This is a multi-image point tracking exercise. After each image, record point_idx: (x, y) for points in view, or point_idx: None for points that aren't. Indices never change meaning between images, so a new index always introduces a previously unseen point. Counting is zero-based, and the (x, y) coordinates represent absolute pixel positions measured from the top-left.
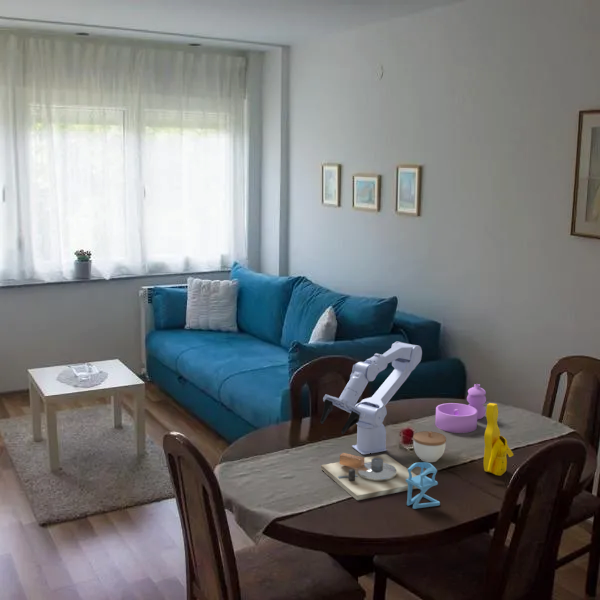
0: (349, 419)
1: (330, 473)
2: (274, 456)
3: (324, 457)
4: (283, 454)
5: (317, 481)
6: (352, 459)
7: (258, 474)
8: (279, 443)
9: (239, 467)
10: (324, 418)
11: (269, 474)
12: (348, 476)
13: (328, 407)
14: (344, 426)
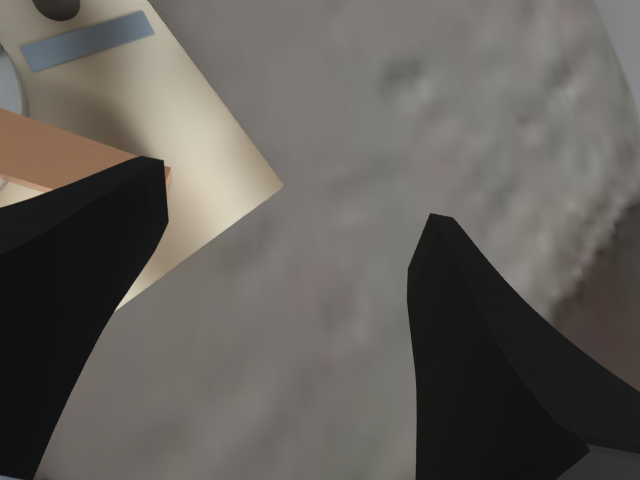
0: (9, 231)
1: (209, 86)
2: None
3: (294, 360)
4: None
5: (264, 42)
6: (59, 130)
7: (516, 87)
8: None
9: (592, 143)
10: (429, 273)
11: (479, 93)
12: (85, 35)
13: (502, 345)
14: (119, 179)
